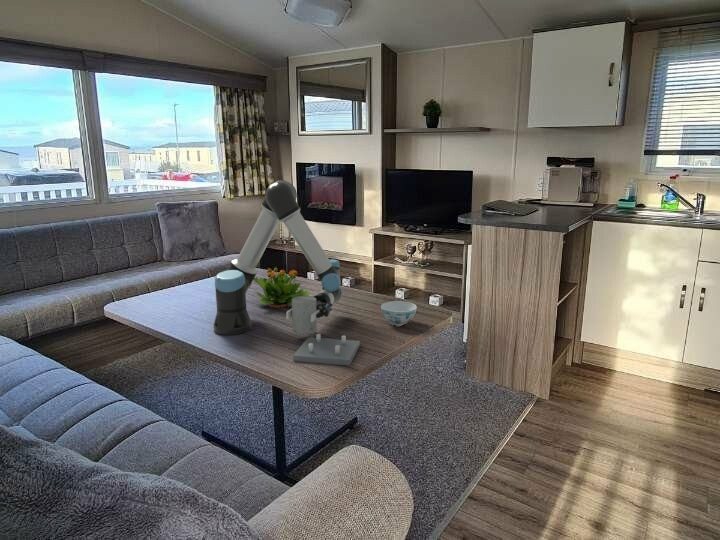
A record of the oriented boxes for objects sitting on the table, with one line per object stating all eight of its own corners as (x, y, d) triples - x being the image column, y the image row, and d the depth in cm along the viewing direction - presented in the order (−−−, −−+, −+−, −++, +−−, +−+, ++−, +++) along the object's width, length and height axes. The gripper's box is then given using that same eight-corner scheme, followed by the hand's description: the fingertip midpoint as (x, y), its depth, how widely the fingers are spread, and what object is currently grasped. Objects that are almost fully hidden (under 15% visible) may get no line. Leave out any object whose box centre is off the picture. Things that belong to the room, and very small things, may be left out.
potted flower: (275, 316, 219) (273, 278, 215) (240, 306, 233) (238, 270, 229) (313, 303, 238) (312, 268, 235) (279, 295, 252) (277, 261, 248)
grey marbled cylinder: (293, 334, 187) (293, 303, 184) (290, 326, 196) (290, 296, 193) (318, 332, 189) (318, 302, 187) (314, 324, 198) (314, 295, 196)
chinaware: (373, 323, 210) (373, 306, 208) (396, 315, 220) (397, 299, 218) (400, 332, 199) (400, 314, 198) (423, 323, 210) (424, 306, 208)
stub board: (293, 360, 172) (292, 347, 171) (308, 342, 189) (308, 329, 188) (349, 365, 168) (349, 351, 167) (359, 346, 185) (359, 333, 184)
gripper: (346, 312, 205) (326, 330, 185) (298, 306, 212) (273, 322, 191) (347, 295, 204) (326, 310, 183) (298, 289, 210) (272, 304, 190)
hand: (299, 316), depth 187 cm, fingers closed on grey marbled cylinder, 9 cm apart
